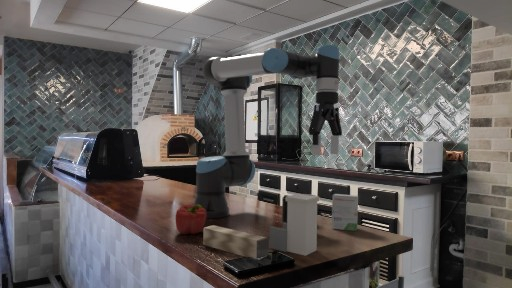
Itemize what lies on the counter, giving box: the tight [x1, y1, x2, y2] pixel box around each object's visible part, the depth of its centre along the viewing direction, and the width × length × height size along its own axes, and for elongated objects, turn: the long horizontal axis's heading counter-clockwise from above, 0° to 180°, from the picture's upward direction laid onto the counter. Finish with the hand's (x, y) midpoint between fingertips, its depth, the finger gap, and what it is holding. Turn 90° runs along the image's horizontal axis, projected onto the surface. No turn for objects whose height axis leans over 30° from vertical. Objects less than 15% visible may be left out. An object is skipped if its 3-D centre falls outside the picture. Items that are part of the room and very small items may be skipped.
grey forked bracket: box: [268, 193, 320, 256], centre depth 103 cm, size 12×8×15 cm, turn 51°
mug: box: [281, 195, 288, 223], centre depth 136 cm, size 9×12×9 cm
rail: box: [202, 225, 270, 258], centre depth 101 cm, size 21×4×5 cm, turn 51°
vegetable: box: [175, 204, 207, 235], centre depth 118 cm, size 11×10×10 cm
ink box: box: [331, 193, 359, 232], centre depth 127 cm, size 9×5×12 cm, turn 71°
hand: (325, 154), depth 123 cm, fingers open, 13 cm apart
